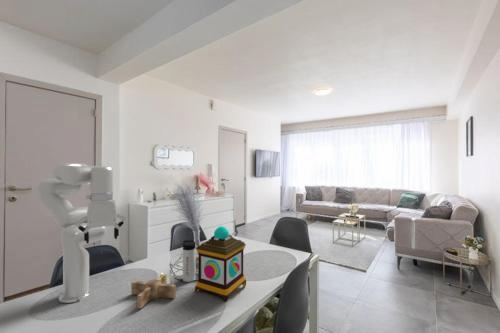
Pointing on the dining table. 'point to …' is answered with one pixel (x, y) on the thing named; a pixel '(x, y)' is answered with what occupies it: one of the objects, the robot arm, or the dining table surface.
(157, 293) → the wooden cross piece
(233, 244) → the decorative lantern
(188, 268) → the travel mug
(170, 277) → the window posts
